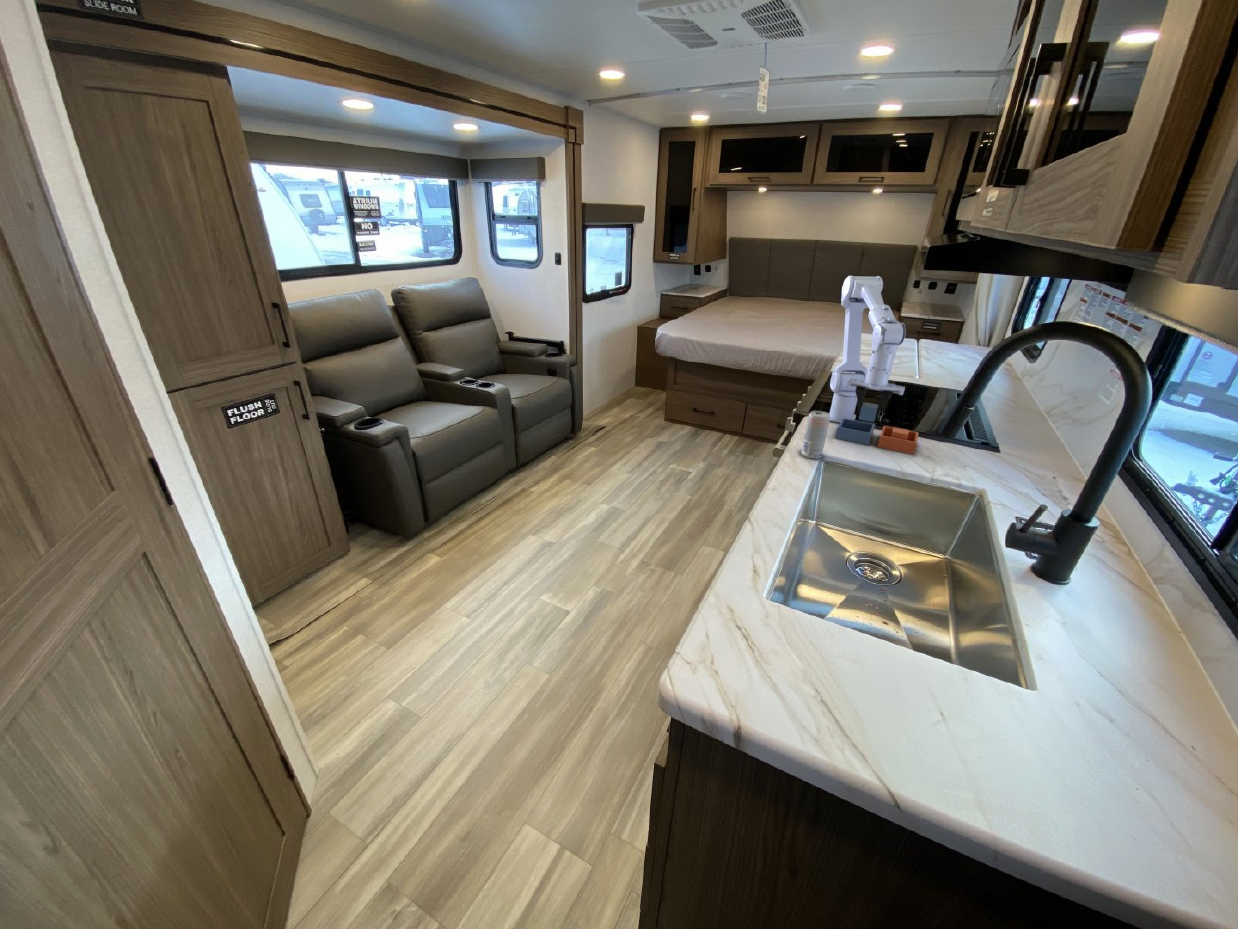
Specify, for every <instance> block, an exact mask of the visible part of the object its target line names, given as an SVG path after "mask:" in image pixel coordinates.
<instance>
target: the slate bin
mask: <svg viewBox="0 0 1238 929" xmlns="http://www.w3.org/2000/svg"><path fill="white" fill-rule="evenodd" d="M875 426H876V423H873V422H868V421H862V420H856V419H854V420H851V419H845V418H843V419H842V420H841V422H840V423H839V424H838V426H837V428H836V433H835V437H834V439H837V440H844V441H846V442H853V443H858V444H862V445H868V446H869V445H870V442H871V440H872V438H873V434H874V431H875Z"/></svg>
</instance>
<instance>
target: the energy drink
mask: <svg viewBox="0 0 1238 929" xmlns="http://www.w3.org/2000/svg"><path fill="white" fill-rule="evenodd" d="M830 422H831V421H830V414H829V412H826V411H823V410H812V411H810V412H809V414H808V417H807V422H806V427H805V432H804V437H803V443H802V448H801V452H800V453H801V454H802V456H804V458H808V459H812V460H813V459H820V458H821V457H822V456H823V452H824V448H825V445H826V444H825V443H826V439H827V435H828V429H829V426H830Z"/></svg>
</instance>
